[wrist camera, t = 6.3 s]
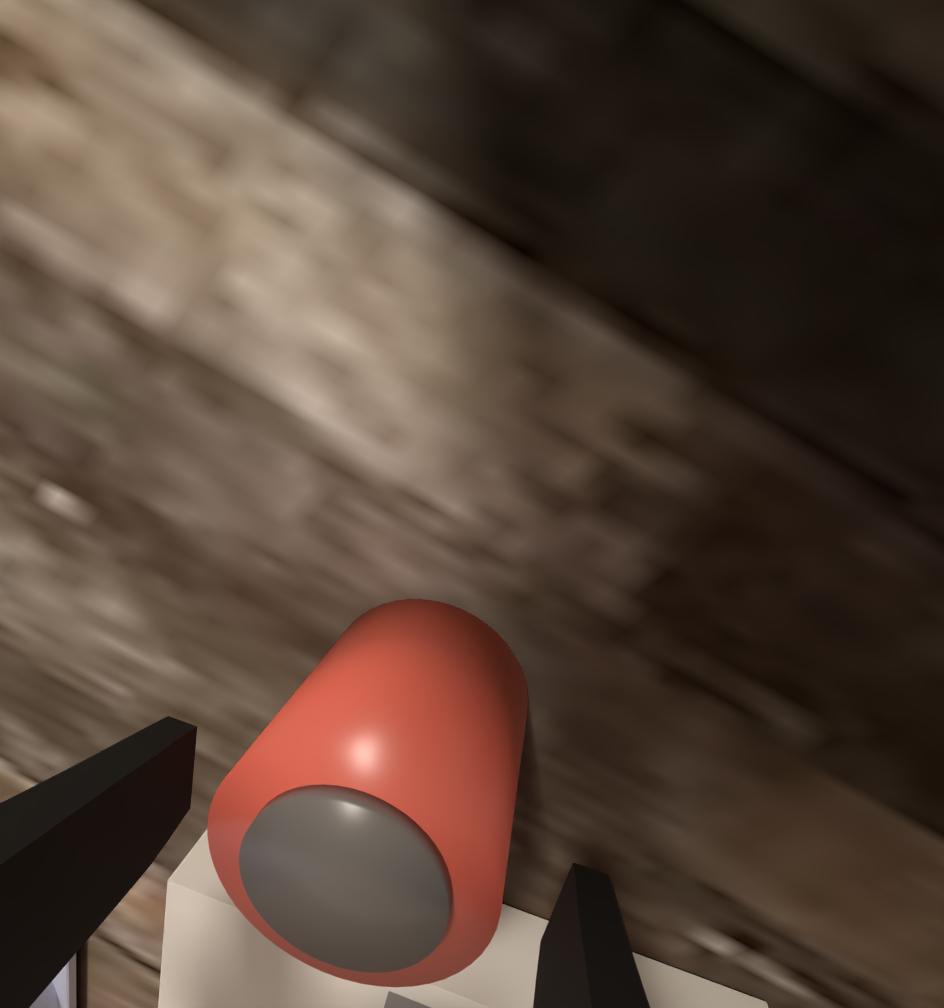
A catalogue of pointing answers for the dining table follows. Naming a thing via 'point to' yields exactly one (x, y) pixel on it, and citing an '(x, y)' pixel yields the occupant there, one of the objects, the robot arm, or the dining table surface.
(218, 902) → the panel
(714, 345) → the dining table surface
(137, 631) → the dining table surface
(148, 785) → the robot arm
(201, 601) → the dining table surface
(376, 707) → the cap
